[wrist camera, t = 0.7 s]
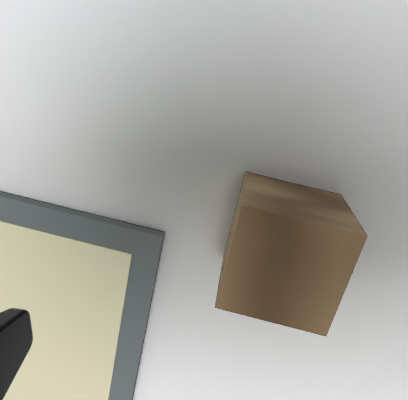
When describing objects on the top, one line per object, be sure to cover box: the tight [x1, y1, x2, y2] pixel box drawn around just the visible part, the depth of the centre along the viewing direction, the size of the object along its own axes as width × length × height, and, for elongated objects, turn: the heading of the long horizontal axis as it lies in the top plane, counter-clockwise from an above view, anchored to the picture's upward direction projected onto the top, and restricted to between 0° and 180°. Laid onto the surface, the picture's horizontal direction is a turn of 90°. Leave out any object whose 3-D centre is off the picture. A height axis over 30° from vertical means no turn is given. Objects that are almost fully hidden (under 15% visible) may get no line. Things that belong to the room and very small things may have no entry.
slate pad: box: [0, 191, 165, 400], centre depth 25 cm, size 14×18×1 cm
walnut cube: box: [215, 172, 367, 336], centre depth 18 cm, size 5×5×5 cm
